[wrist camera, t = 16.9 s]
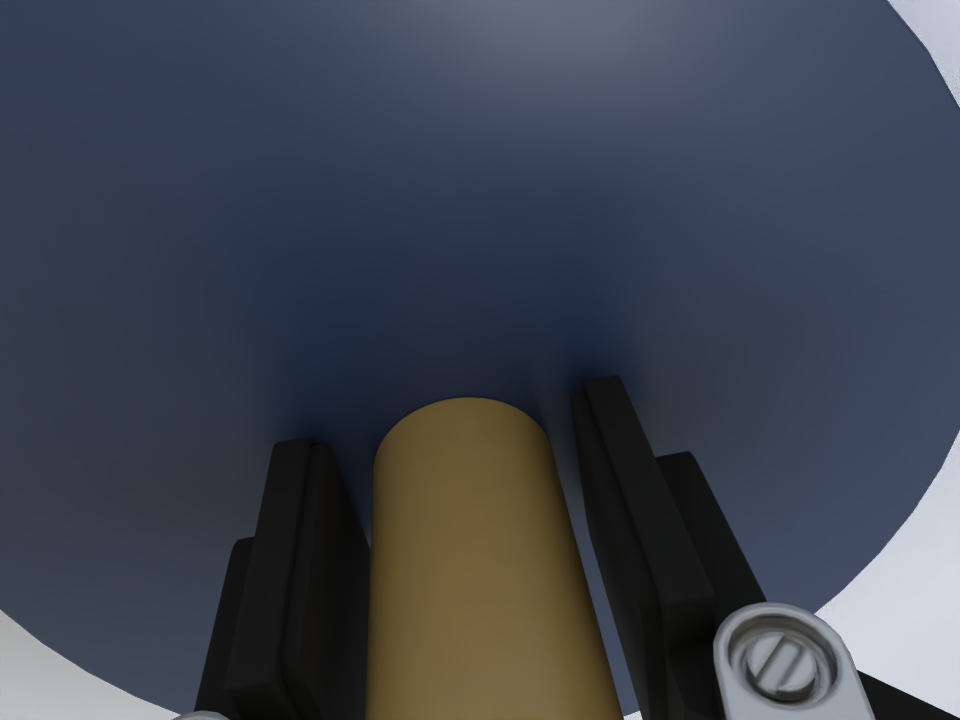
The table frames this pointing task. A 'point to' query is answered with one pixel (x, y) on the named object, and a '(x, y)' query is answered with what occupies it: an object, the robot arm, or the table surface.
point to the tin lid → (459, 310)
